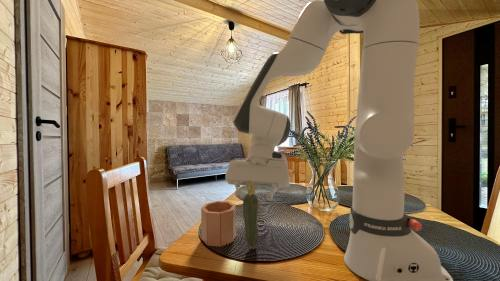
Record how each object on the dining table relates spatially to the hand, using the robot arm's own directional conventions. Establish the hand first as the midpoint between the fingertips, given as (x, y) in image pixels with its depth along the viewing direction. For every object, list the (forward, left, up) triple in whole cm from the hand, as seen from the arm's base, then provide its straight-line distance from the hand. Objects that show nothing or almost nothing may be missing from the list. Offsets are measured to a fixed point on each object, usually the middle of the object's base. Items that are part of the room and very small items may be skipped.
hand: (253, 197), depth 69 cm
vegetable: (0, +4, -14) cm, 15 cm away
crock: (+11, -1, -14) cm, 18 cm away
